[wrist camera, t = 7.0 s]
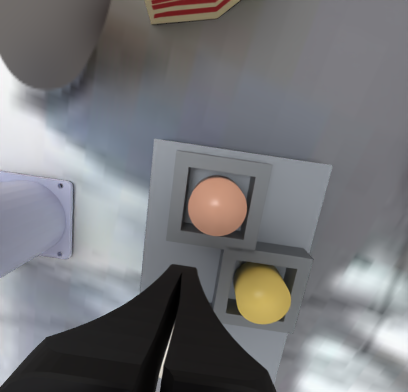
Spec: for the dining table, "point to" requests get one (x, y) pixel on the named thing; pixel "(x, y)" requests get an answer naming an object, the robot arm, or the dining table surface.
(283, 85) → the dining table surface
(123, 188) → the dining table surface
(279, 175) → the panel
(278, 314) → the button mustard
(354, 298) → the dining table surface
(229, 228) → the button terracotta
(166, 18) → the milk carton
